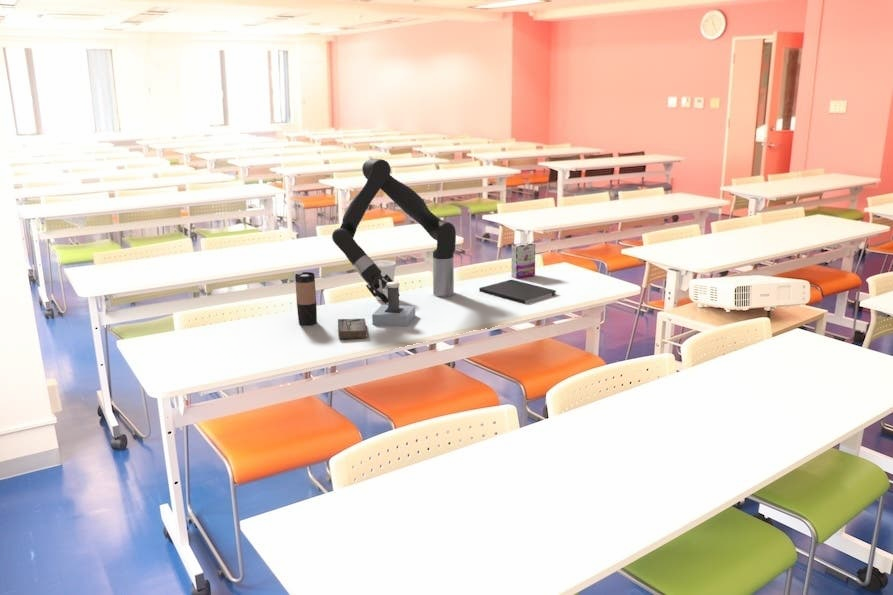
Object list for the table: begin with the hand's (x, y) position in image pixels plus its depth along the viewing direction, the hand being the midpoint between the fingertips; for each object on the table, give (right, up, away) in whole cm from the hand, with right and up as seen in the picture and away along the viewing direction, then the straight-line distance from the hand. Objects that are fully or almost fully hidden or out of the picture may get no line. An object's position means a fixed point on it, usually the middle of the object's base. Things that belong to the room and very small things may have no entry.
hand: (392, 299), depth 295 cm
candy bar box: (+59, +11, +67) cm, 90 cm away
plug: (0, -8, +2) cm, 8 cm away
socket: (0, -8, +2) cm, 8 cm away
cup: (-7, 0, +32) cm, 33 cm away
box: (-15, -13, -12) cm, 23 cm away
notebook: (+54, +2, +39) cm, 66 cm away
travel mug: (-34, -10, -1) cm, 35 cm away
